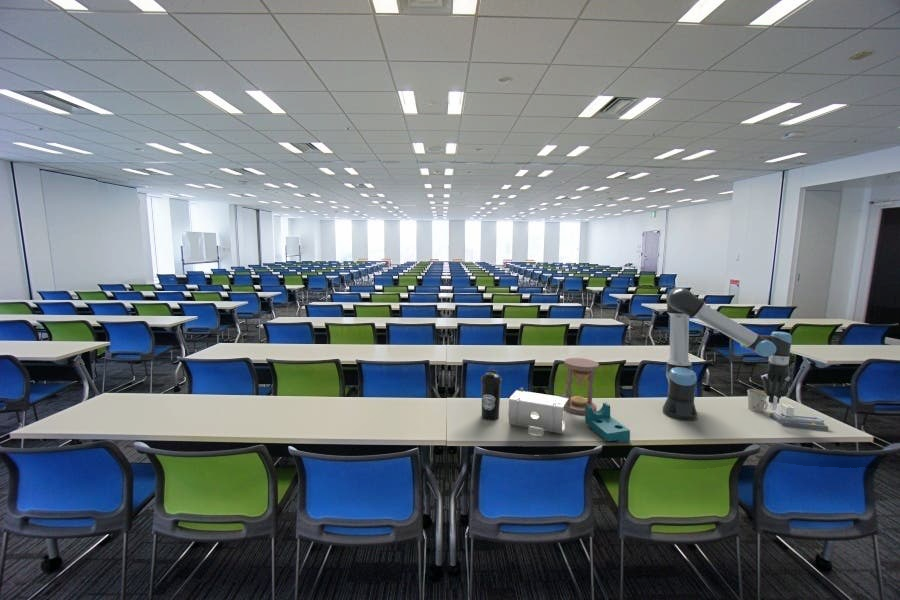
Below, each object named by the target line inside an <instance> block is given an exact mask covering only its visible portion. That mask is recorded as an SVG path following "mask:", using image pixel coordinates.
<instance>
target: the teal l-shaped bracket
mask: <svg viewBox="0 0 900 600" xmlns="http://www.w3.org/2000/svg"><path fill="white" fill-rule="evenodd" d="M584 415H585V418H584V420H585V422H584V423H585V425H587V426H588V427H589V428H590V429H591V430H593V431H594V432H595V433H596V434H598V435H599V436H600V437H601V438H603V439H604V440H605V441H606V442H612V441H613V442H614V441H616V442H617V443H620V444H621V443H627V442H630V441H631V430H630V429H629V428H628V427H626V425H624V424H622V423H621V422H620V421H618V420H617V419H615V418H614V417H612V416H611V404H609V403H608V402H602V406H601V408H600V409H599V410H596V412H593V411H592V408H591V407H590V406H589V405H585V414H584Z"/></svg>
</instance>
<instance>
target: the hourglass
mask: <svg viewBox="0 0 900 600" xmlns="http://www.w3.org/2000/svg"><path fill="white" fill-rule="evenodd" d="M563 365H564V367H566V368H567V373H566V374H567V375H566V385H567V387H566V389H565V395H566V398H569V399H568V401H567V402H566V404H565V405H564V408H563V410H565V411H567V412H570V413H573V414H577V415H585V405H589V406H590V407H591V408H592V411H593V412H597V405H596V404H595V403H594V402H593V393H594V386H593V383H594V380H595V374H594V372H595V371H597V370H599V368H600V364H599V362H597V361H595V360H592V359H587V358H581V357H580V358H579V357H570V358H566V359H564V361H563ZM573 377H574V379H575V380H576V382H577V384H578V387H582V386H583V383H585V381H586V380H588V385H587V390H586V391H587V394H586V395H587V398H586V397H583V396H581V395H575V396H572V394H573V392H572V382H573Z"/></svg>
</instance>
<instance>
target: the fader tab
mask: <svg viewBox="0 0 900 600" xmlns="http://www.w3.org/2000/svg"><path fill="white" fill-rule="evenodd" d="M779 408H780V409H779V413H782V416H786V417H794V415H795V407H793V406H792V405H791V404H788V403H780V407H779Z"/></svg>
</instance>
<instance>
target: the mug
mask: <svg viewBox="0 0 900 600" xmlns="http://www.w3.org/2000/svg"><path fill="white" fill-rule="evenodd" d="M767 398H768V395H767V394H765V392H764V390H761V389H756V388H749V389H747V407H748V410H751V411H752V412H759V413H761V412H764V411H767V410H768V407H769V406H768V401H767Z"/></svg>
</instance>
